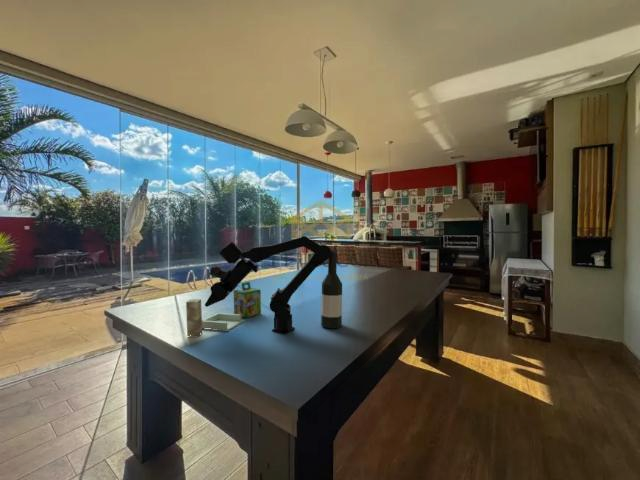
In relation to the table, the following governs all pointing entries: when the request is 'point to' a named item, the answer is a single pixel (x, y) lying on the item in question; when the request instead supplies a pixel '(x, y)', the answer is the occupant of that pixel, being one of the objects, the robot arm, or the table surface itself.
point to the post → (194, 317)
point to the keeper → (222, 321)
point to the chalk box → (247, 301)
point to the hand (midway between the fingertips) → (209, 302)
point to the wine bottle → (331, 296)
